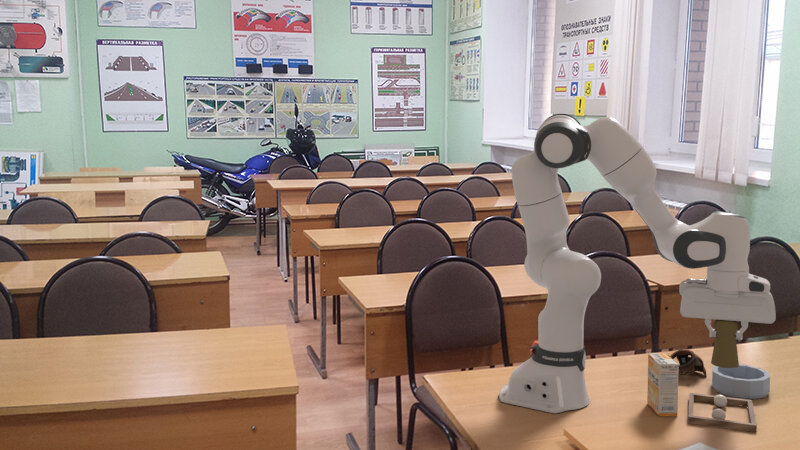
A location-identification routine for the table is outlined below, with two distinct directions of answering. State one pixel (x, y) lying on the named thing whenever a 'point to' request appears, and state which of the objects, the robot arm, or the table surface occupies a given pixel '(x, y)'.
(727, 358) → the cork
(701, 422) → the tray
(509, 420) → the table surface
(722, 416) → the pebble
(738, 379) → the bowl
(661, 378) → the supplement box
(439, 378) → the table surface
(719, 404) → the pebble
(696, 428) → the table surface
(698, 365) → the pottery mug
